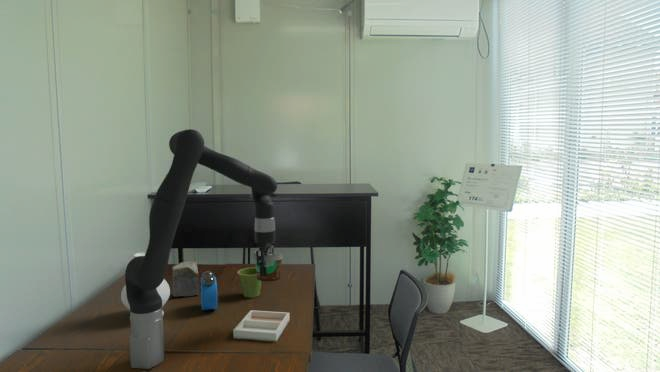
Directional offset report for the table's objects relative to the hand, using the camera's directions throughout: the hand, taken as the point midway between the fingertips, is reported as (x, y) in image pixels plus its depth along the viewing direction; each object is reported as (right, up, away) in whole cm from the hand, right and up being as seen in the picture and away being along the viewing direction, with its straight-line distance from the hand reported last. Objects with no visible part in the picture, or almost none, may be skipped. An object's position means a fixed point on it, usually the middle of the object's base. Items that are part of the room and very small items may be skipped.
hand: (265, 273), depth 163 cm
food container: (0, -2, 0) cm, 3 cm away
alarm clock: (-26, -18, +17) cm, 36 cm away
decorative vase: (-49, -19, +10) cm, 53 cm away
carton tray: (-1, -20, -2) cm, 20 cm away
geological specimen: (-41, -17, +33) cm, 55 cm away
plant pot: (-11, -17, +33) cm, 39 cm away
